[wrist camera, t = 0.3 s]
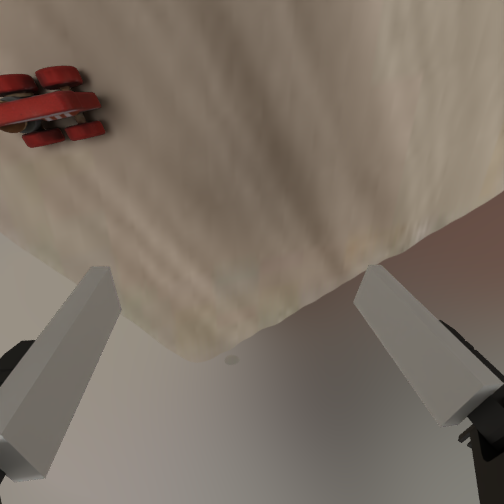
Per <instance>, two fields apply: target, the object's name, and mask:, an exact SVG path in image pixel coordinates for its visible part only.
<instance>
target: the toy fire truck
mask: <svg viewBox="0 0 504 504" xmlns="http://www.w3.org/2000/svg"><path fill="white" fill-rule="evenodd" d="M35 74H36V77H37V79H38V81H39V82H40V84H41V86H42V87H43V88H44V89H47V90H57V89H61V91H55V92H51V93H47V94H42V95H37V96H34V95H33V93H36V92H37V91H38V87H37V86H36V84H35V82H34V80H33V78H32V77H31V76H29V75H26V74H7V75H0V97H4V98H2V99H0V130H3V131H5V132H9V133H18V132H21V133H27V134H24V135H22V138H23V140H24V141H25V143H26V144H27V146H28V147H30V148H34V147H39V146H44V145H49V144H53V143H57V142H62V141H64V140H65V137H64V135H63V134H62V132H61V130H60V129H59V128H53V129H47V130H45V129H44V127H43V125H42V123H41V121H42V120H46V121H51V120H57V119H61V118H66V117H70V116H74V117H75V119H76V121H77V123H78V125H74V126H69V127H66V128H65V131H66V133H67V135H68V137H69V138H70V139H71V140H72V141H76V140H81V139H86V138H90V137H94V136H99V135H102V134H105V130H104V128H103V125H102V123H101V122H100V121H92V122H86V120H85V117H84V115H83V113H82V112H84V111H88V110H93V109H97V108H101V104H100V102H99V100H98V98H97V96H96V95H95V93H93V92H74V91H71V89H70V88H71V87H75V86H79V85H81V84H82V83H83V81H82V78H81V76H80V74H79V72H78V70H77V69H76V68H75V67H73V66H54V67H47V68H43V69H40V70H38V71H36V72H35Z"/></svg>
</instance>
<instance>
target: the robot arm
mask: <svg viewBox="0 0 504 504" xmlns="http://www.w3.org/2000/svg"><path fill="white" fill-rule="evenodd" d="M353 303H354V304H355V306H356V307H357V308H358V310H359V311H360V313H361V314H362V315H363V317H364V318H365V320H366V321H367V323H368V324H369V326H370V327H371V329H372V330H373V331H374V333H375V334H376V335H377V337H378V339H379V340H380V341H381V343H382V344H383V346H384V347H385V349H386V350H387V351H388V353H389V354H390V355H391V357H392V359H393V360H394V361H395V363H396V364H397V366H398V367H399V369H400V370H401V372H402V373H403V374H404V376H405V377H406V379H407V380H408V382H409V383H410V384H411V386H412V387H413V389H414V390H415V392H416V393H417V394H418V396H419V397H420V399H421V400H422V402H423V403H424V404H425V406H426V407H427V409H428V410H429V412H430V413H431V414H432V416H433V417H434V419H435V420H436V422H437V423H438V425H439V426H440V427H446V426H453V425H458V424H459V423H461V422H462V421H463V420H464V419H465V418H466V417H468V418H469V419H470V421H471V422H472V423H473V424H472V425H471V426H470V427H469V428H468V429H466V431H464V432H463V433H462V434H461V435H459V439H458V441H459V442H461V443H462V442H463V441H465V440H466V439H467V438H468V437H470V439H471V441H470V442H469V443H468V444H467V446H468V447H470V448H472V451H473V459H474V466H475V473H476V479H477V486H478V493H479V500H480V504H504V376H503V375H502V374H501V373H500V372H499V371H498V370H497V369H496V368H495V367H494V366H493V365H492V364H491V363H490V362H489V361H488V360H486V359H485V358H484V357H483V356H482V355H481V354H480V353H479V352H478V351H477V350H474V347H473V346H472V345H470V344H469V343H468V342H467V341H465V339H464V338H463V337H462V336H461V335H460V334H459V333H458V332H457V331H456V330H455V329H453V328H452V327H450V326H449V325H447V324H446V323H444V322H443V321H441V320H438V319H437V318H435V317H434V316H433V315H432V314H431V313H430V312H429V311H428V310H427V309H426V308H425V307H424V306H423V305H422V304H421V303H420V302H419V301H418V300H417V299H416V298H415V297H414V296H413V295H412V294H411V293H410V292H409V291H408V290H407V289H406V288H404V287H403V286H402V285H401V284H400V283H399V282H398V281H397V280H396V279H395V278H394V277H393V276H392V275H391V274H390V273H389V272H388V271H387V270H386V269H385V268H384V267H383V266H382V265H368V268H367V270H366V273H365V275H364V277H363V280H362V282H361V285H360V287H359V290H358V292H357V294H356V297H355V300H354V302H353ZM120 312H121V306H120V302H119V299H118V295H117V291H116V288H115V284H114V280H113V277H112V273H111V269H110V266H98V267H91V268H90V269H89V271H88V272H87V273H86V275H85V276H84V277H83V279H82V280H81V281H80V282H79V284H78V285H77V287H76V288H75V289H74V290H73V292H72V293H71V295H70V296H69V297H68V298H67V300H66V301H65V302H64V304H63V305H62V306H61V308H60V309H59V310H58V311H57V313H56V314H55V316H54V317H53V318H52V319H51V321H50V322H49V323H48V325H47V326H46V327H45V329H44V330H43V331H42V333H41V334H40V335H39V337H38V338H37V339H36V340H30V341H21V342H20V343H18V344H17V345H16V346H14V347H13V348H12V349H10V350H9V351H8V352H6V353H5V354H4V355H3V356H2V357H1V358H0V484H1V482H2V480H3V478H4V476H5V475H6V476H7V477H9V478H10V479H11V480H13V481H14V482H21V481H29V480H36V479H44V478H46V475H47V473H48V471H49V469H50V467H51V464H52V462H53V460H54V458H55V455H56V453H57V451H58V449H59V447H60V444H61V442H62V440H63V438H64V436H65V433H66V431H67V429H68V427H69V425H70V422H71V420H72V418H73V416H74V413H75V411H76V409H77V407H78V405H79V403H80V400H81V398H82V396H83V393H84V392H85V389H86V387H87V385H88V382H89V381H90V378H91V376H92V374H93V372H94V369H95V367H96V365H97V363H98V361H99V358H100V356H101V354H102V352H103V350H104V347H105V345H106V343H107V341H108V339H109V336H110V334H111V332H112V330H113V327H114V325H115V323H116V321H117V319H118V317H119V314H120ZM0 504H2V503H1V498H0Z"/></svg>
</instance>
